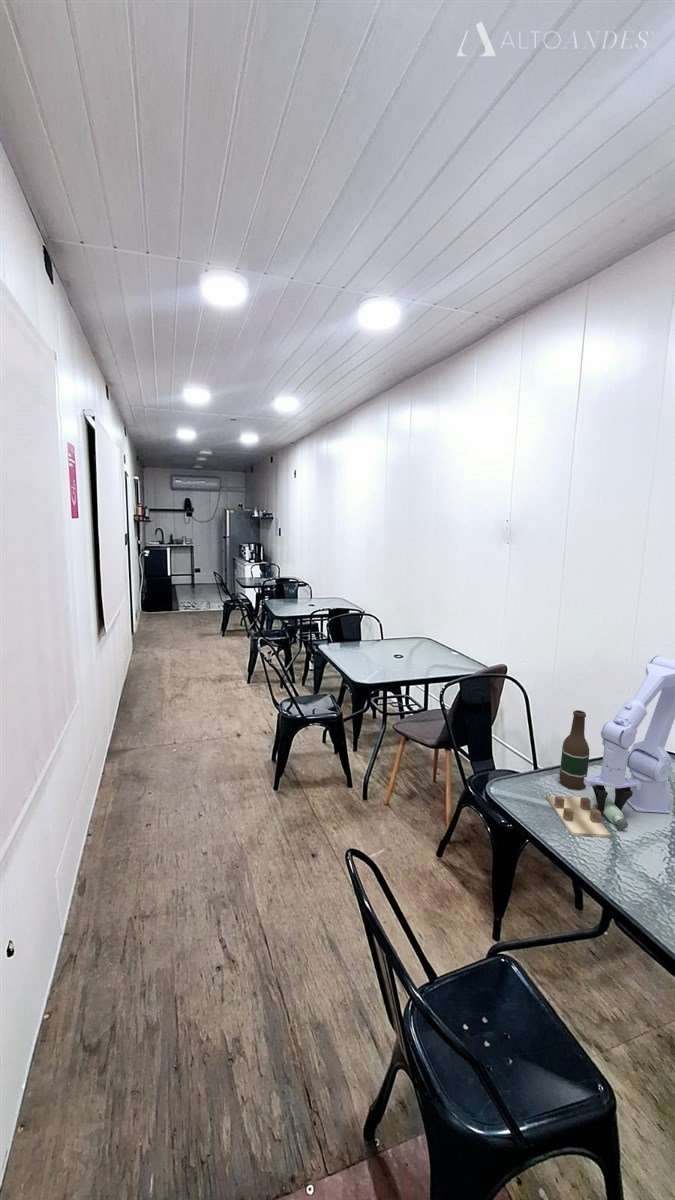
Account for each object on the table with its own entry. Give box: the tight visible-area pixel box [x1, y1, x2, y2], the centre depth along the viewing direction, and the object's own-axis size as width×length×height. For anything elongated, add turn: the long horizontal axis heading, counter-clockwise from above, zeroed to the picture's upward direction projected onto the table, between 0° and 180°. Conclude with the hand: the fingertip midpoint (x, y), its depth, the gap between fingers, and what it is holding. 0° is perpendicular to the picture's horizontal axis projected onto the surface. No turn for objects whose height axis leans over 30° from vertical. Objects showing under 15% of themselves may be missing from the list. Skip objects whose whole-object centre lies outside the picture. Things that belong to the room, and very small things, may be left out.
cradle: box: [545, 794, 612, 839], centre depth 134 cm, size 10×18×4 cm, turn 177°
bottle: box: [592, 795, 629, 830], centre depth 133 cm, size 4×12×4 cm, turn 177°
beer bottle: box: [559, 709, 590, 791], centre depth 150 cm, size 8×8×24 cm
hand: (608, 810), depth 135 cm, fingers closed on bottle, 4 cm apart
